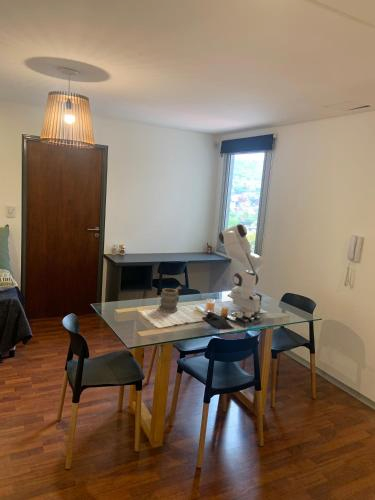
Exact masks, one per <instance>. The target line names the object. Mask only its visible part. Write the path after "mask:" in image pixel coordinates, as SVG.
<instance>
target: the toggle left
mask: <svg viewBox="0 0 375 500" xmlns="http://www.w3.org/2000/svg"><path fill="white" fill-rule="evenodd" d="M236 312H237V317H238V318H242V316H243V313H241V312H242V311H236Z"/></svg>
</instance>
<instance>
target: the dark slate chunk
mask: <svg viewBox="0 0 375 500" xmlns="http://www.w3.org/2000/svg"><path fill="white" fill-rule="evenodd" d="M202 319H203V320H204V321H206V322H207V323H209V324H210V325H211V326H213V327H214V328H217V329H227V330H232V329H235V327H234V326H232V325H231V324H230V323H229V321H227V320H225V319H224V318H223V317H222V316H221V315H219V314H217V313H215V312H212V311H208V312H207V314H206V316H203V317H202Z"/></svg>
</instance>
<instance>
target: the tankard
mask: <svg viewBox="0 0 375 500" xmlns="http://www.w3.org/2000/svg"><path fill="white" fill-rule="evenodd" d="M161 290H162V291H161V293H160V294H161V295H160V296H161V299H160V301H159V302H160V305H159V306H158V309H159V311H161V312H163V313H167V314H168V313H169V314H170V313H172V314H173V313H176V312H178V306H177V305H178V303H179V300H180V296H179V290H182V287H181V286H180V285H179V286H178V287H176V288H175V289H174V288H162V289H161Z"/></svg>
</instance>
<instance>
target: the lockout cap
mask: <svg viewBox="0 0 375 500" xmlns="http://www.w3.org/2000/svg"><path fill="white" fill-rule="evenodd" d="M220 313H221V314H220V316H222V317H223V318H224V316H228V315H229V314H228V313H229V308H228V307H226V306H223V307H221V311H220Z"/></svg>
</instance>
